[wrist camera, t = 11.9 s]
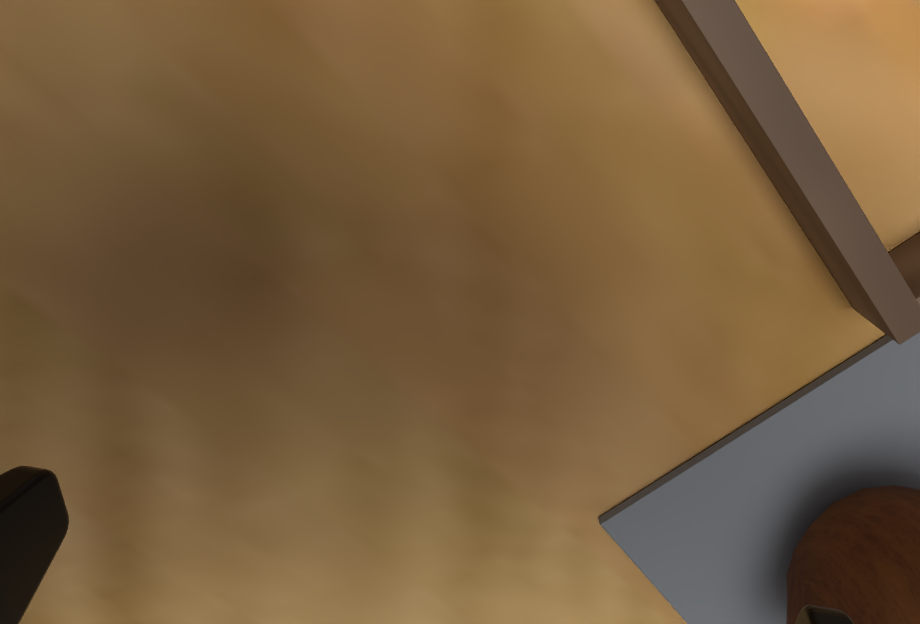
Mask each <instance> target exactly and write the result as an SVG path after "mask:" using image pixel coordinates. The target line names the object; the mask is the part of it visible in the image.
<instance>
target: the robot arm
mask: <svg viewBox="0 0 920 624" xmlns="http://www.w3.org/2000/svg"><path fill="white" fill-rule="evenodd" d="M68 524H69V516H68V512H67V509H66V506H65V502H64V499H63V496H62V492H61V489H60V486H59V483H58V479H57V477H56V475H55V474H54V473H53V472H52V471H50V470H47V469H41V468H35V467H30V466H19V467H16V468H14V469H11V470H9V471H7V472H5V473H3V474H1V475H0V624H19V622H20V621H21V619H22V617H23V615H24V613H25V611H26V609H27V607H28V605H29V604H30V602H31V600H32V598H33V596H34V594H35V592H36V590H37V589H38V587H39V585H40V583H41V581H42V579H43V577H44V575H45V573H46V572H47V570H48V568H49V566H50V564H51V562H52V560H53V558H54V556H55V555H56V553H57V551H58V549H59V547H60V545H61V543H62V541H63V539H64V537H65V535H66V532H67V529H68ZM795 624H854V622H853V621H852V620H851V619H850V617H849V616H848V615H847V614H845V613H844V612H842V611H840V610H837V609H832V608H826V607H820V606H815V605H806V606H804V607H803V608H802V609H801V611H800V613H799V615H798V617H797V620H796V622H795Z"/></svg>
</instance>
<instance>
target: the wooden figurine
mask: <svg viewBox="0 0 920 624" xmlns="http://www.w3.org/2000/svg"><path fill="white" fill-rule="evenodd" d="M786 577H787V621H786V624H795V622H796V620H797V617H798V615H799V613H800V611H801V609H802V608H803V607H804V606H806V605H815V606H820V607H826V608H832V609H837V610H840V611H842V612H844V613H845V614H847V615H848V616H849V617H850V619H851V620H852V621H853V622H854V624H920V489H914V488H908V487H902V486H896V485H892V486H882V487H872V488H862V489H860V490H858V491H856V492H854V493H852V494H850V495H848V496H846V497H844V498H842V499H840V500H838V501H836V502H834V503H832V504H831V505H830V506H829V507H828V508H827V509H826V510H825V511H824V512H823V513H822V514H821V515H820V516H819V517H818V518H817V519H816V520H815V521H814V522H813V523H812V524H811V525H810V526H809V527H808V529H807V530H806V532H805V534H804V535H803V537H802V538H801V540H800V542H799V543H798V545H797V546H796V548H795V549H794V551H793V555H792V558H791V561H790V565H789V568H788V572H787V575H786Z"/></svg>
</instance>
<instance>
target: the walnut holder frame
mask: <svg viewBox="0 0 920 624" xmlns="http://www.w3.org/2000/svg"><path fill="white" fill-rule="evenodd" d="M655 1H656V3H657V4H658V6H659V7H660V9H661V11H662V12H663V14H664V15H665V17H666V18H667V20H668V21H669V23H670V25H671V26H672V28H673V29H674V31H675V32H676V34H677V35H678V37H679V38H680V40H681V42H682V43H683V45H684V46H685V48H686V49H687V51H688V52H689V54H690V56H691V57H692V59H693V60H694V62H695V63H696V65H697V66H698V68H699V70H700V71H701V73H702V74H703V76H704V77H705V79H706V80H707V82H708V83H709V85H710V87H711V88H712V90H713V91H714V93H715V94H716V96H717V97H718V99H719V101H720V102H721V104H722V105H723V107H724V108H725V110H726V111H727V113H728V115H729V116H730V118H731V119H732V121H733V122H734V124H735V125H736V127H737V128H738V130H739V132H740V133H741V135H742V136H743V138H744V139H745V141H746V142H747V144H748V146H749V147H750V149H751V150H752V152H753V153H754V155H755V156H756V158H757V160H758V161H759V163H760V164H761V166H762V167H763V169H764V170H765V172H766V173H767V175H768V177H769V178H770V180H771V181H772V183H773V184H774V186H775V187H776V189H777V191H778V192H779V194H780V195H781V197H782V198H783V200H784V201H785V203H786V205H787V206H788V208H789V209H790V211H791V212H792V214H793V215H794V217H795V219H796V220H797V222H798V223H799V225H800V226H801V228H802V229H803V231H804V232H805V234H806V236H807V237H808V239H809V240H810V242H811V243H812V245H813V246H814V248H815V250H816V251H817V253H818V254H819V256H820V257H821V259H822V260H823V262H824V264H825V265H826V267H827V268H828V270H829V271H830V273H831V274H832V276H833V277H834V279H835V281H836V282H837V284H838V285H839V287H840V288H841V290H842V291H843V293H844V295H845V296H846V298H847V299H848V301H849V302H850V304H851V305H852V307H853V309H855V310H856V311H857V312H858V313H860V314H861V315H862V316H864V317H865V318H866V319H867V320H869V321H870V322H871V323H872V324H874V325H875V326H876V327H878V328H879V329H880V330H881V331H883V332H884V333H885V334H886V335H888V336H889V337H890V338H892V339H893V340H894V341H895V342H897V343H898V344H899V345H900V344H902V343H903V342H905V341H907V340H908V339H910V338H911V337H913V336H915V335H916V334H918V333H919V332H920V232H919V233H918V234H916V235H915V236H913V237H912V238H910V239H909V240H907V241H906V242H904V243H903V244H901V245H900V246H898V247H897V248H895V249H894V250H892V251H891V252H889V253H888V252H887V250H886V249H885V247H884V245H883V244H882V242H881V240H880V239H879V237H878V235H877V234H876V232H875V231H874V229H873V227H872V226H871V224H870V222H869V221H868V219H867V217H866V216H865V214H864V212H863V211H862V209H861V207H860V206H859V204H858V203H857V201H856V199H855V198H854V196H853V194H852V193H851V191H850V189H849V188H848V186H847V184H846V183H845V181H844V179H843V178H842V176H841V175H840V173H839V171H838V170H837V168H836V166H835V165H834V163H833V161H832V160H831V158H830V156H829V155H828V153H827V152H826V150H825V148H824V147H823V145H822V143H821V142H820V140H819V138H818V137H817V135H816V133H815V132H814V130H813V128H812V127H811V125H810V124H809V122H808V120H807V119H806V117H805V115H804V114H803V112H802V110H801V109H800V107H799V105H798V104H797V102H796V100H795V99H794V97H793V96H792V94H791V92H790V91H789V89H788V87H787V86H786V84H785V82H784V81H783V79H782V77H781V76H780V74H779V72H778V71H777V69H776V68H775V66H774V64H773V63H772V61H771V59H770V58H769V56H768V54H767V53H766V51H765V49H764V48H763V46H762V45H761V43H760V41H759V40H758V38H757V36H756V35H755V33H754V31H753V30H752V28H751V26H750V25H749V23H748V21H747V20H746V18H745V17H744V15H743V13H742V12H741V10H740V8H739V7H738V5H737V3H736V2H735V0H655Z"/></svg>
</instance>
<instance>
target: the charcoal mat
mask: <svg viewBox="0 0 920 624" xmlns="http://www.w3.org/2000/svg"><path fill="white" fill-rule="evenodd" d="M892 485H896V486H902V487H908V488H914V489H920V332H919V333H918V334H916V335H915V336H913V337H911V338H910V339H908V340H907V341H905V342H903V343H902V344H900V345H899V344H898V343H897V342H895V341H894V340H893V339H892V338H890V337H889V336H888V335H886V336H884V337H883V338H881V339H880V340H878V341H876V342H875V343H873V344H872V345H870V346H869V347H867V348H865V349H864V350H862V351H861V352H859V353H858V354H856V355H854V356H853V357H851V358H850V359H848V360H846V361H845V362H843V363H842V364H840V365H839V366H837V367H835V368H834V369H832V370H831V371H829V372H828V373H826V374H824V375H823V376H821V377H820V378H818V379H817V380H815V381H813V382H812V383H810V384H809V385H807V386H806V387H804V388H802V389H801V390H799V391H798V392H796V393H794V394H793V395H791V396H790V397H788V398H787V399H785V400H783V401H782V402H780V403H779V404H777V405H776V406H774V407H772V408H771V409H769V410H768V411H766V412H765V413H763V414H761V415H760V416H758V417H757V418H755V419H754V420H752V421H750V422H749V423H747V424H746V425H744V426H742V427H741V428H739V429H738V430H736V431H735V432H733V433H731V434H730V435H728V436H727V437H725V438H724V439H722V440H720V441H719V442H717V443H716V444H714V445H713V446H711V447H709V448H708V449H706V450H705V451H703V452H702V453H700V454H698V455H697V456H695V457H694V458H692V459H690V460H689V461H687V462H686V463H684V464H683V465H681V466H679V467H678V468H676V469H675V470H673V471H672V472H670V473H668V474H667V475H665V476H664V477H662V478H661V479H659V480H657V481H656V482H654V483H653V484H651V485H650V486H648V487H646V488H645V489H643V490H642V491H640V492H638V493H637V494H635V495H634V496H632V497H631V498H629V499H627V500H626V501H624V502H623V503H621V504H620V505H618V506H616V507H615V508H613V509H612V510H610V511H609V512H607V513H605V514H604V515H602V516H601V517H599V518H598V519H599V522H600V525H601V526H602V527H603V528H604V529H605V531H606V532H607V533H608V534H609V535H610V536H611V537H612V539H613V540H614V541H615V542H616V543H617V544H618V545H619V546H620V548H621V549H622V550H623V551H624V552H625V553H626V554H627V556H628V557H629V558H630V559H631V560H632V561H633V562H634V563H635V565H636V566H637V567H638V568H639V569H640V570H641V571H642V572H643V574H644V575H645V576H646V577H647V578H648V579H649V580H650V582H651V583H652V584H653V585H654V586H655V587H656V588H657V589H658V591H659V592H660V593H661V594H662V595H663V596H664V597H665V599H666V600H667V601H668V602H669V603H670V604H671V605H672V606H673V608H674V609H675V610H676V611H677V612H678V613H679V614H680V615H681V617H682V618H683V619H684V620H685V621H686V622H687V623H688V624H786V621H787V577H786V575H787V572H788V568H789V565H790V561H791V558H792V555H793V551H794V549H795V548H796V546H797V545H798V543H799V542H800V540H801V538H802V537H803V535H804V534H805V532H806V530H807V529H808V527H809V526H810V525H811V524H812V523H813V522H814V521H815V520H816V519H817V518H818V517H819V516H820V515H821V514H822V513H823V512H824V511H825V510H826V509H827V508H828V507H829V506H830V505H831V504H832V503H834V502H836V501H838V500H840V499H842V498H844V497H846V496H848V495H850V494H852V493H854V492H856V491H858V490H860V489H862V488H872V487H882V486H892Z"/></svg>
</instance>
